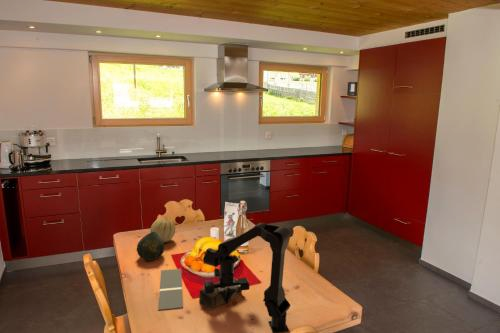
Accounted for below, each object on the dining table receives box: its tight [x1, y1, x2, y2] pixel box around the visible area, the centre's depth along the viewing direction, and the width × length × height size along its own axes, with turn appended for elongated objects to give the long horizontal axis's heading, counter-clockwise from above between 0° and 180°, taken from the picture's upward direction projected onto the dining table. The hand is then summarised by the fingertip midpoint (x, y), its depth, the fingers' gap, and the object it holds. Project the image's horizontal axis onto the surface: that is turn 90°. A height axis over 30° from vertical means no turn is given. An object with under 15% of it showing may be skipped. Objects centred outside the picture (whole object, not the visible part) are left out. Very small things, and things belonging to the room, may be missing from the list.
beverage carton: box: [198, 277, 243, 311], centre depth 150 cm, size 8×19×7 cm, turn 135°
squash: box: [136, 232, 165, 262], centre depth 187 cm, size 14×15×15 cm
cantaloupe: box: [149, 217, 176, 244], centre depth 208 cm, size 15×15×15 cm
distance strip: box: [157, 268, 184, 311], centre depth 158 cm, size 34×10×1 cm, turn 13°
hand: (226, 303), depth 144 cm, fingers closed
